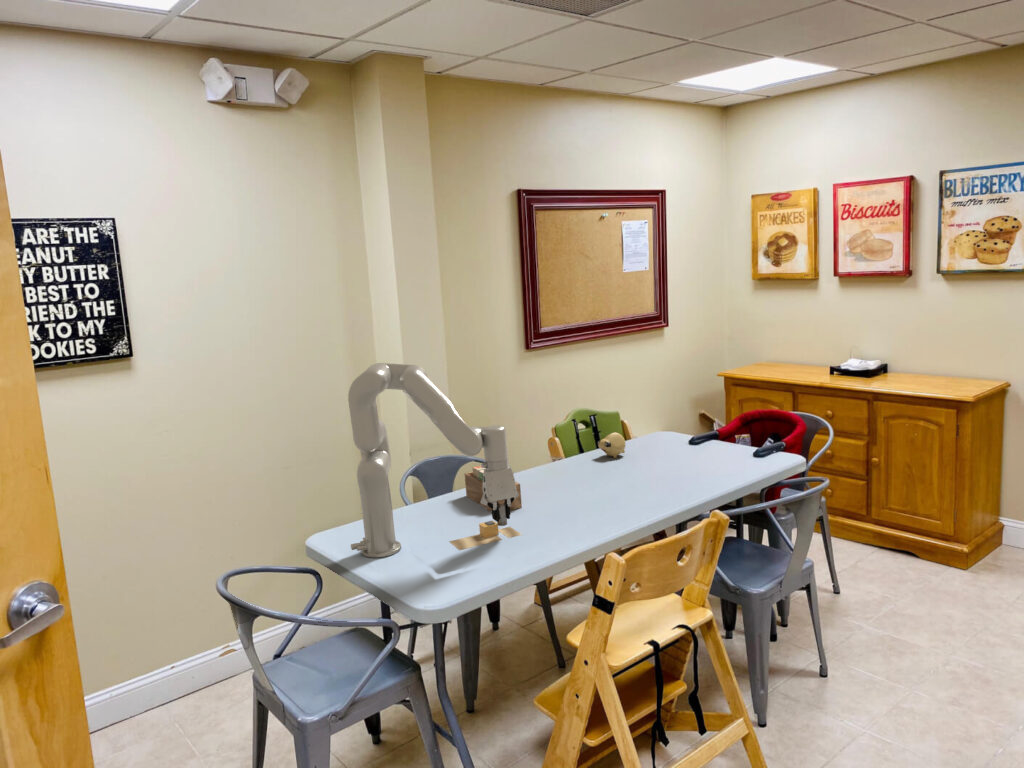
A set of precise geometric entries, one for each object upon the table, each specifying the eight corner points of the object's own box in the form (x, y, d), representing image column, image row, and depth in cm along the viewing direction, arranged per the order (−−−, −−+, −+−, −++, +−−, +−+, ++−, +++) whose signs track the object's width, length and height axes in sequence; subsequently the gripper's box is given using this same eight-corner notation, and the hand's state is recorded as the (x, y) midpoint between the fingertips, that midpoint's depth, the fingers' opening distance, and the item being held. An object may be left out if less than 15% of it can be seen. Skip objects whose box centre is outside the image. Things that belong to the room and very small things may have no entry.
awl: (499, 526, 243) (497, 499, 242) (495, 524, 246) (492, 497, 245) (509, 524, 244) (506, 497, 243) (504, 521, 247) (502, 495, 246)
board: (459, 553, 237) (459, 550, 237) (449, 544, 245) (449, 541, 245) (522, 538, 247) (522, 534, 246) (510, 530, 255) (510, 526, 254)
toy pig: (594, 456, 337) (593, 433, 335) (616, 451, 342) (615, 428, 341) (608, 461, 328) (607, 437, 326) (630, 456, 334) (629, 432, 332)
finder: (484, 537, 246) (483, 526, 246) (479, 533, 250) (479, 522, 249) (498, 534, 248) (497, 523, 248) (493, 530, 252) (492, 519, 251)
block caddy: (494, 513, 272) (492, 489, 270) (466, 495, 295) (464, 473, 293) (521, 507, 276) (520, 483, 275) (492, 490, 299) (490, 468, 298)
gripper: (478, 472, 235) (483, 528, 238) (525, 461, 242) (529, 516, 245) (468, 466, 242) (473, 521, 245) (514, 457, 249) (519, 510, 252)
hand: (501, 518), depth 245 cm, fingers closed on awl, 3 cm apart
